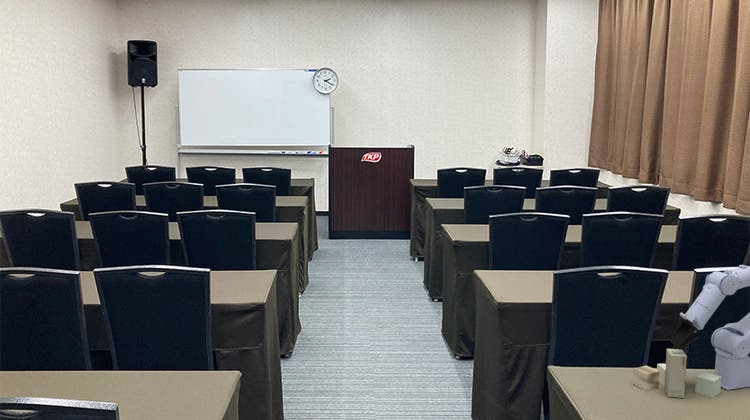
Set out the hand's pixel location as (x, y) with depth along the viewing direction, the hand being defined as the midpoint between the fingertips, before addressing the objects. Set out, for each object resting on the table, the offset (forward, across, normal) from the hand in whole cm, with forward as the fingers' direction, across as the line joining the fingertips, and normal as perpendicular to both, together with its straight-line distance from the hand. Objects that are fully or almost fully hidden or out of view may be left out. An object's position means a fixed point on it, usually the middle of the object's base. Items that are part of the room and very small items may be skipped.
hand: (674, 346), depth 202 cm
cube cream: (+8, -12, +2) cm, 15 cm away
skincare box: (+11, -5, +6) cm, 14 cm away
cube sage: (+5, -10, +12) cm, 16 cm away
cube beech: (+13, -7, -1) cm, 15 cm away
